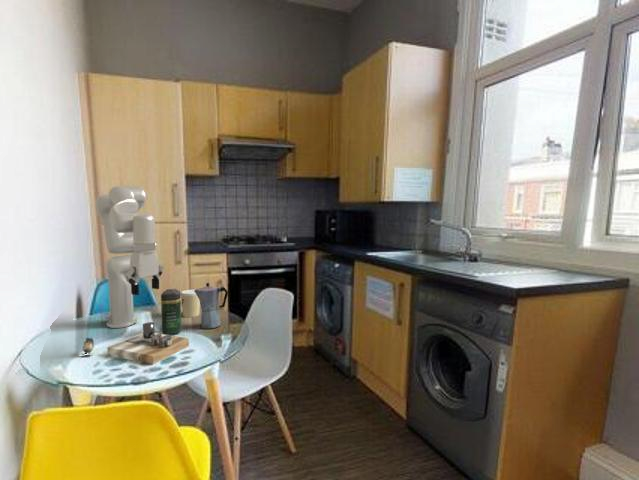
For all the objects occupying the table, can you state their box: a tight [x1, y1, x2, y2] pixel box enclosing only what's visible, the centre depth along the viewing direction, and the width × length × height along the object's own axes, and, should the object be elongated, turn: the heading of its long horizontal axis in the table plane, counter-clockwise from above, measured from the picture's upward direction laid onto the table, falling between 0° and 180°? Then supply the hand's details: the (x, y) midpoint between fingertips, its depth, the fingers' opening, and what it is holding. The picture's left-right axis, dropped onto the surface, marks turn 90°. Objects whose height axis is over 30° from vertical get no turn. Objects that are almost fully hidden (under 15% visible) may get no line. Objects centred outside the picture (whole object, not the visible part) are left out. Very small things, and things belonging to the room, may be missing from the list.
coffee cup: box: [180, 289, 201, 318], centre depth 183 cm, size 9×9×12 cm
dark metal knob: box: [141, 321, 172, 345], centre depth 137 cm, size 13×4×7 cm, turn 69°
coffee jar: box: [160, 288, 182, 336], centre depth 158 cm, size 10×8×19 cm
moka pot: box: [194, 282, 229, 330], centre depth 166 cm, size 10×15×20 cm, turn 95°
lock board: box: [106, 332, 190, 365], centre depth 138 cm, size 22×18×6 cm
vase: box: [82, 337, 95, 357], centre depth 135 cm, size 5×5×6 cm
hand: (145, 291), depth 140 cm, fingers open, 9 cm apart
